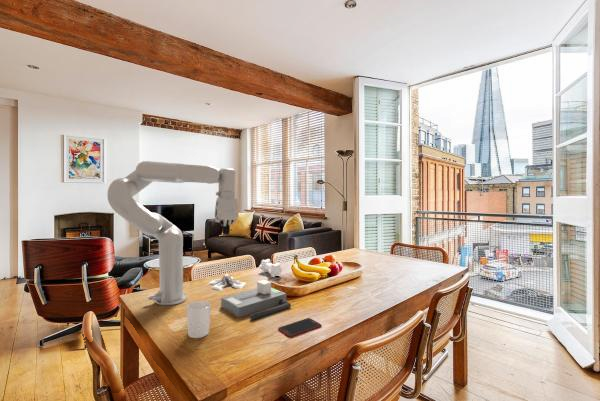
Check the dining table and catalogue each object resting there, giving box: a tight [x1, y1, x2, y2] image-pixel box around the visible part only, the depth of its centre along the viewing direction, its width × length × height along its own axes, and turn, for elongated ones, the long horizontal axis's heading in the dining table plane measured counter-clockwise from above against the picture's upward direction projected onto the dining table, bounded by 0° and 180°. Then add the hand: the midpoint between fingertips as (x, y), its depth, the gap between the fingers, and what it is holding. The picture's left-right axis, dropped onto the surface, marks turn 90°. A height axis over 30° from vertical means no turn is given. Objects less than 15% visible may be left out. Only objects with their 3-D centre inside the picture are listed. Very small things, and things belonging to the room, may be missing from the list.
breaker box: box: [220, 286, 287, 318], centre depth 129 cm, size 24×14×4 cm, turn 133°
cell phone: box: [277, 317, 322, 339], centre depth 108 cm, size 8×15×1 cm, turn 127°
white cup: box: [185, 300, 212, 339], centre depth 102 cm, size 8×8×10 cm
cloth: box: [208, 273, 247, 291], centre depth 157 cm, size 22×19×6 cm
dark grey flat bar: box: [249, 300, 292, 321], centre depth 122 cm, size 20×6×2 cm, turn 133°
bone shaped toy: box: [258, 258, 284, 278], centre depth 174 cm, size 15×9×8 cm, turn 34°
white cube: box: [256, 279, 272, 294], centre depth 132 cm, size 4×5×4 cm
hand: (225, 234), depth 140 cm, fingers closed
